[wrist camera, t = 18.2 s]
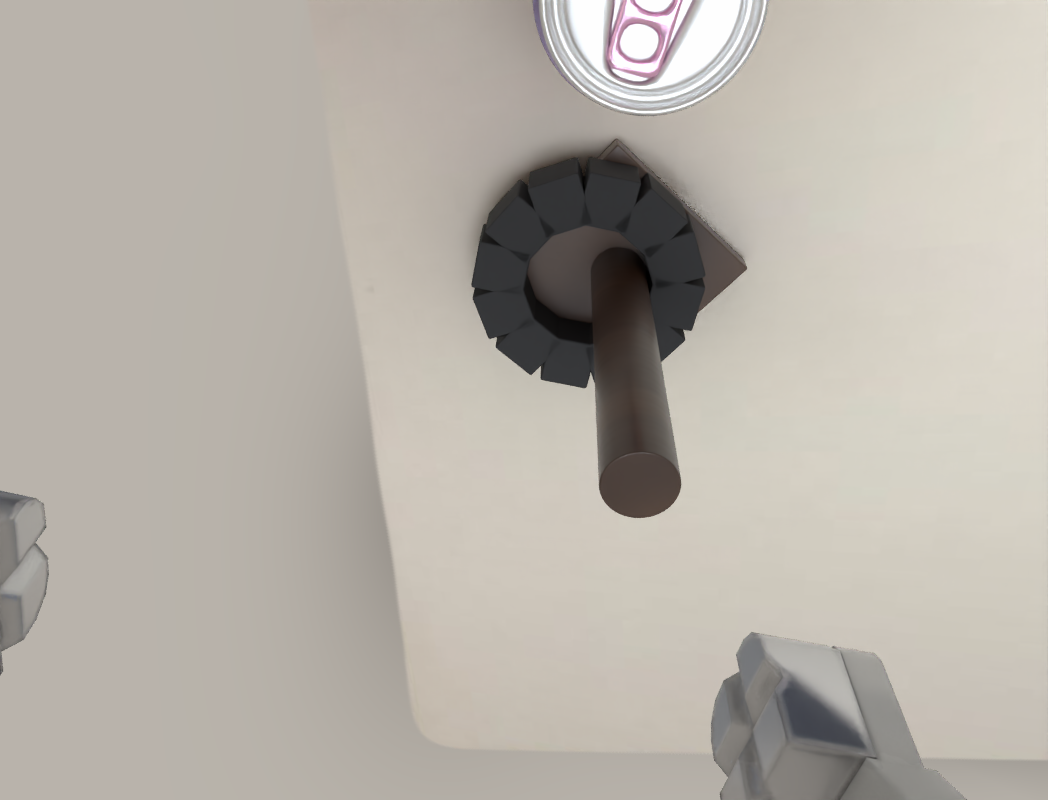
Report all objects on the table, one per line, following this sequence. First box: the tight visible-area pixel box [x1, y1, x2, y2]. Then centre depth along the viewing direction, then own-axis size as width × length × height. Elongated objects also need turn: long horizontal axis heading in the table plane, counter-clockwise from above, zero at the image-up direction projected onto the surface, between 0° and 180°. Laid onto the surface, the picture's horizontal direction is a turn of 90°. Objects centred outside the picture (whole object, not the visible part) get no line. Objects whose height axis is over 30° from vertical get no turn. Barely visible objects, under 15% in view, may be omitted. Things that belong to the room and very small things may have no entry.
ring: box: [472, 157, 706, 388], centre depth 41 cm, size 10×10×2 cm
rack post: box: [527, 139, 747, 518], centre depth 35 cm, size 8×8×17 cm
